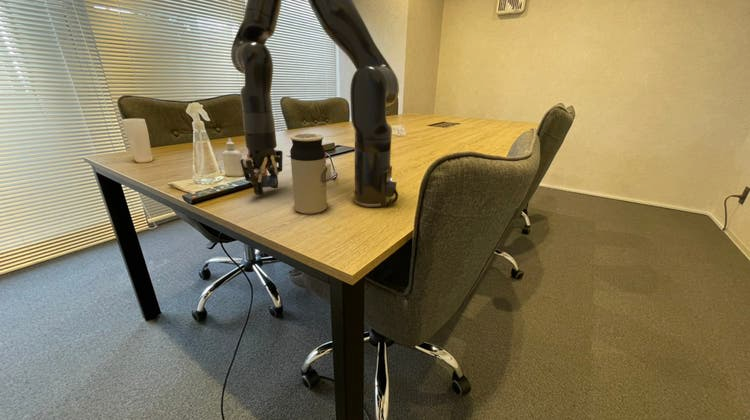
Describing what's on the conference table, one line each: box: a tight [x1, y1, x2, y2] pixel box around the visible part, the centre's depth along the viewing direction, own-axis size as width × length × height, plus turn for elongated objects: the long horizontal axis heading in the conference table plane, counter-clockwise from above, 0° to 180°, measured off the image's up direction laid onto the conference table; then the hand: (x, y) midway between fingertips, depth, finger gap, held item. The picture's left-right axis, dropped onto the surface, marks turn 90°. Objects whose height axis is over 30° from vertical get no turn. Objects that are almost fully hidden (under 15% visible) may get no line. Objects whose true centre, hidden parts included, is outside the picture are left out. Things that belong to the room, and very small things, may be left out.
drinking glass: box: [121, 118, 154, 164], centre depth 110 cm, size 7×7×15 cm
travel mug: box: [289, 133, 328, 215], centre depth 73 cm, size 8×8×18 cm
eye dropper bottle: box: [221, 137, 244, 178], centre depth 98 cm, size 4×6×12 cm
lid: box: [256, 174, 277, 188], centre depth 83 cm, size 6×6×2 cm
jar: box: [246, 148, 269, 186], centre depth 92 cm, size 5×5×10 cm
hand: (266, 191), depth 85 cm, fingers closed on lid, 5 cm apart
